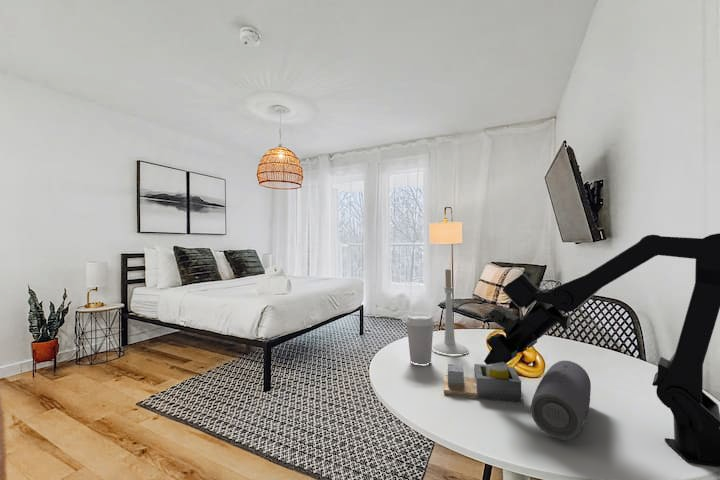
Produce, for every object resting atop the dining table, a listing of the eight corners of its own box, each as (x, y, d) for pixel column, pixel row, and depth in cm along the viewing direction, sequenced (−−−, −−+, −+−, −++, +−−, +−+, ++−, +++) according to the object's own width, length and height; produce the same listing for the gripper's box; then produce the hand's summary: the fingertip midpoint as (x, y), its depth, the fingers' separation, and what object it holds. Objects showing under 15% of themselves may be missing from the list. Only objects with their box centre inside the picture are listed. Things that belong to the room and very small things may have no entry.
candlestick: (470, 357, 108) (468, 269, 109) (431, 355, 111) (429, 269, 112) (466, 346, 120) (464, 267, 121) (432, 344, 123) (430, 267, 124)
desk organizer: (521, 403, 76) (521, 381, 76) (443, 394, 81) (443, 373, 81) (514, 385, 85) (513, 366, 85) (445, 379, 90) (444, 360, 91)
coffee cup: (401, 365, 102) (400, 318, 102) (411, 356, 110) (410, 312, 111) (431, 370, 97) (430, 320, 98) (438, 360, 106) (437, 315, 106)
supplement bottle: (513, 396, 80) (513, 357, 80) (494, 398, 79) (494, 358, 79) (500, 387, 85) (499, 350, 85) (481, 388, 84) (481, 351, 84)
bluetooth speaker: (548, 394, 80) (546, 354, 81) (593, 405, 74) (592, 362, 75) (527, 436, 63) (526, 384, 63) (585, 454, 57) (583, 398, 57)
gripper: (522, 293, 86) (484, 327, 94) (493, 302, 73) (452, 341, 81) (556, 327, 80) (513, 361, 88) (532, 343, 67) (483, 381, 75)
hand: (490, 359), depth 83 cm, fingers open, 6 cm apart
